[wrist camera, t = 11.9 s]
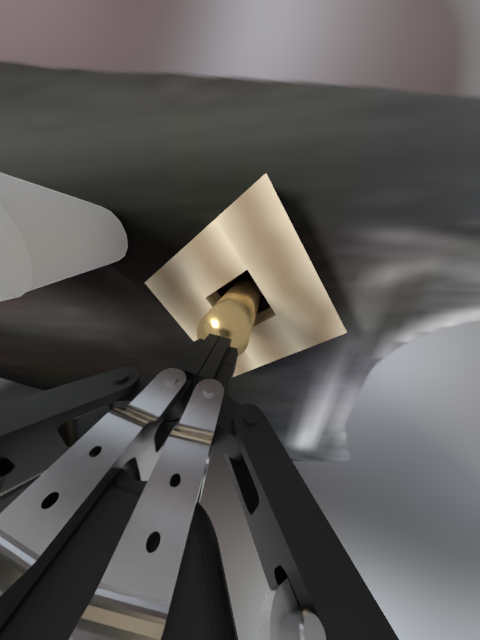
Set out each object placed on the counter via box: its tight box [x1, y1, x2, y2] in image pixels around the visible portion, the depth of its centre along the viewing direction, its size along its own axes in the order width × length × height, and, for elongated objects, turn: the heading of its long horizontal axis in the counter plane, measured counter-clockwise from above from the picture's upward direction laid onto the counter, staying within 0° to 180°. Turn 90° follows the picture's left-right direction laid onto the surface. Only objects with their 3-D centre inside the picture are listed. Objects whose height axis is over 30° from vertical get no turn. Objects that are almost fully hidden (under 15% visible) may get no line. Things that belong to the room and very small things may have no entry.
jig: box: [145, 174, 347, 377], centre depth 20 cm, size 16×16×4 cm
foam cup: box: [0, 173, 128, 301], centre depth 16 cm, size 10×9×13 cm
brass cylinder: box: [197, 280, 261, 356], centre depth 17 cm, size 4×4×10 cm
